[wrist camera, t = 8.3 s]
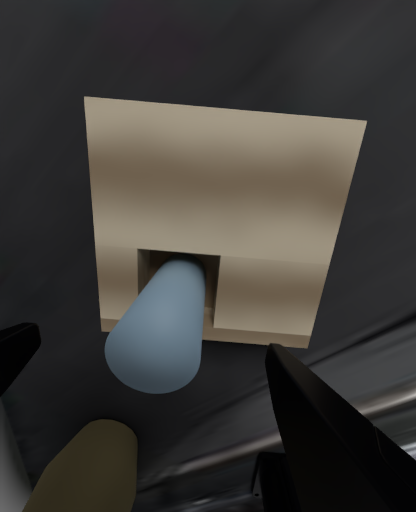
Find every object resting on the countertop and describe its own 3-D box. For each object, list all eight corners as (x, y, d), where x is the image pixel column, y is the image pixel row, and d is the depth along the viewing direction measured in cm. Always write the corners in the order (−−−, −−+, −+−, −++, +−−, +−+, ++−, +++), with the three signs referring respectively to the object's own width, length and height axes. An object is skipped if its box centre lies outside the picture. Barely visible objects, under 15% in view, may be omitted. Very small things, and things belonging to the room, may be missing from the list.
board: (290, 322, 16) (307, 348, 14) (121, 307, 16) (101, 331, 14) (332, 138, 13) (367, 121, 10) (113, 120, 13) (84, 96, 10)
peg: (204, 298, 15) (197, 397, 8) (159, 294, 15) (107, 389, 8) (208, 255, 14) (203, 318, 7) (160, 251, 14) (101, 310, 7)
